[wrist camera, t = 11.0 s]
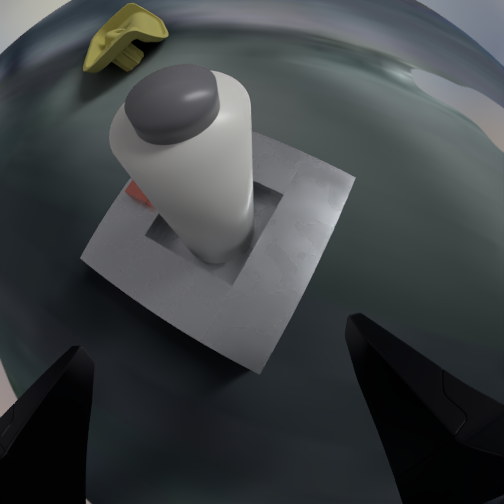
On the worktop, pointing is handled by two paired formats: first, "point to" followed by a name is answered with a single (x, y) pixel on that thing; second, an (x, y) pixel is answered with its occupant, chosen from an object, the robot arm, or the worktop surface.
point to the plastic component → (123, 39)
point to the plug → (192, 156)
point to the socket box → (236, 271)
